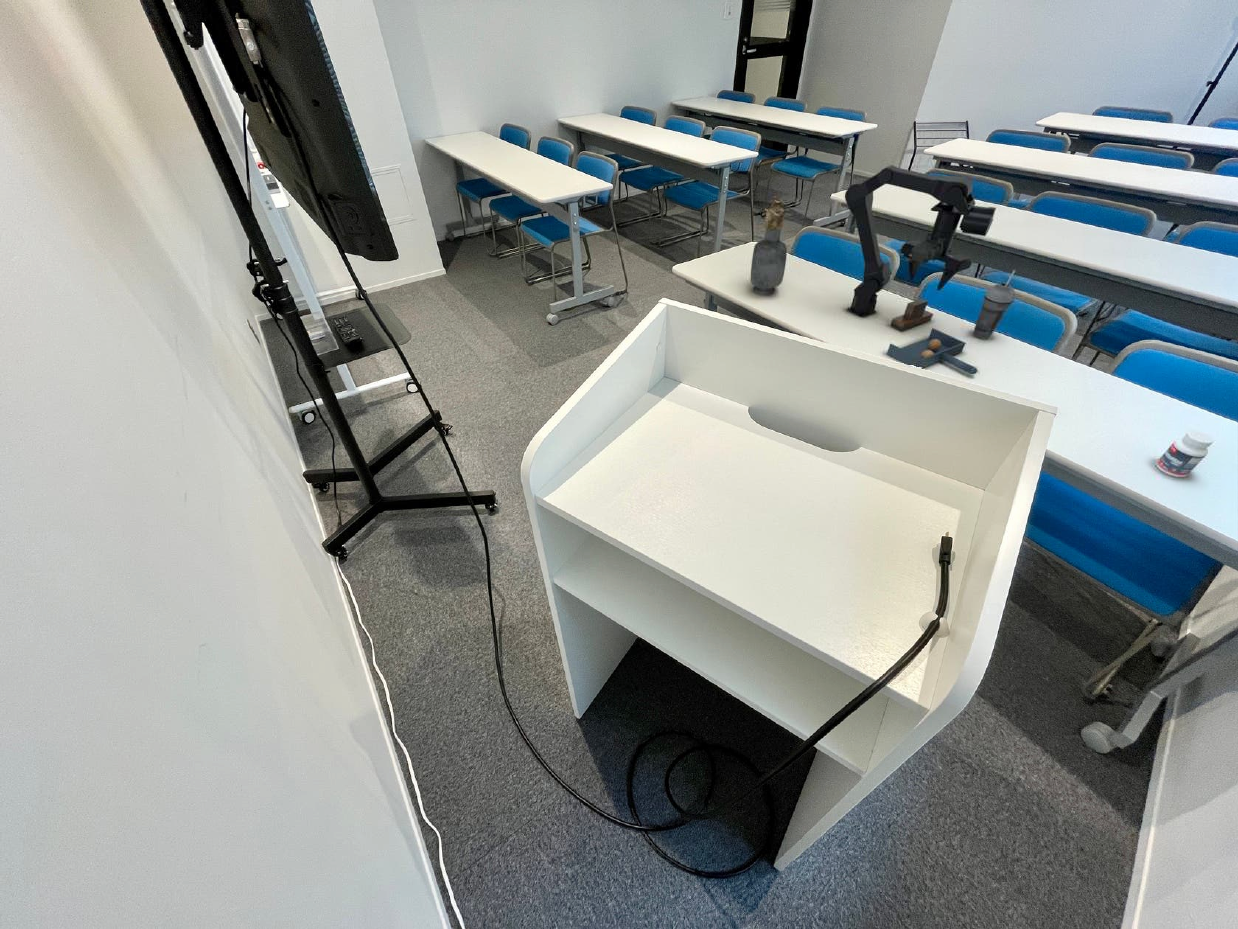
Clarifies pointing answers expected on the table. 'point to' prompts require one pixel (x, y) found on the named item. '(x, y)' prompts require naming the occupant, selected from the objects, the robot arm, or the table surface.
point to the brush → (912, 316)
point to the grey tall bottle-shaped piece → (770, 252)
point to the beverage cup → (994, 308)
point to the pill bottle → (1185, 454)
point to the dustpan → (944, 353)
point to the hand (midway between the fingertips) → (924, 284)
